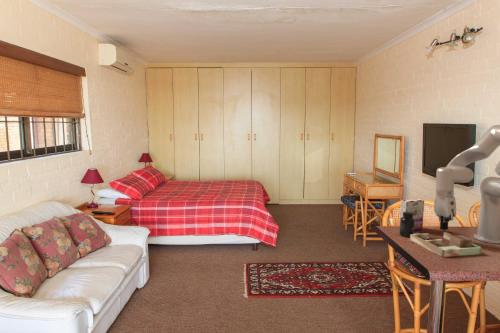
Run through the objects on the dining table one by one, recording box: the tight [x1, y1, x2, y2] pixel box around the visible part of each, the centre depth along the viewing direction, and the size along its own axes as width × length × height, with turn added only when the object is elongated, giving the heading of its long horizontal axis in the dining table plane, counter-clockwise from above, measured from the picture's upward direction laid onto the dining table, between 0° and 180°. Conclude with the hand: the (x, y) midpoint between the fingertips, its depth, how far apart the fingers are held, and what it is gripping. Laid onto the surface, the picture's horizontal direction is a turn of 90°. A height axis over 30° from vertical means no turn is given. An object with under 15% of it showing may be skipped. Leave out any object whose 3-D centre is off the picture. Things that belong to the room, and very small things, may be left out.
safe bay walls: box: [439, 243, 483, 257], centre depth 161 cm, size 19×9×3 cm, turn 102°
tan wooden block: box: [449, 234, 473, 248], centre depth 162 cm, size 6×6×6 cm
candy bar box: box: [399, 198, 425, 231], centre depth 193 cm, size 11×5×16 cm, turn 105°
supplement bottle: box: [398, 212, 415, 238], centre depth 182 cm, size 7×7×12 cm
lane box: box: [409, 231, 462, 258], centre depth 167 cm, size 20×22×3 cm
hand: (444, 229), depth 175 cm, fingers closed
